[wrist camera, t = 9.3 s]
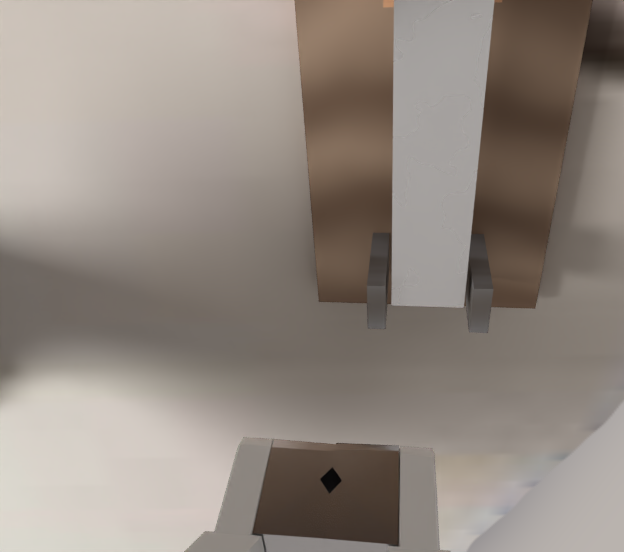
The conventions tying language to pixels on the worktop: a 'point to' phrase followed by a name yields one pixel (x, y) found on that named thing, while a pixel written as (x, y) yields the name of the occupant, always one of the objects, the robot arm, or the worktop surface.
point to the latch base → (492, 155)
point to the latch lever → (436, 145)
